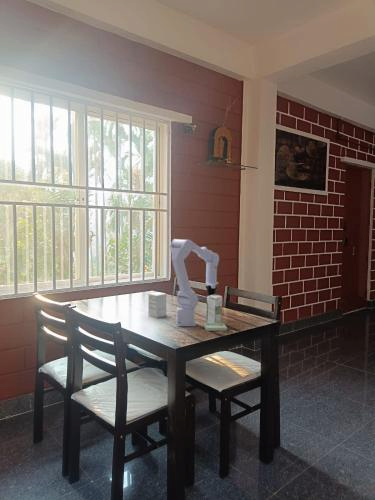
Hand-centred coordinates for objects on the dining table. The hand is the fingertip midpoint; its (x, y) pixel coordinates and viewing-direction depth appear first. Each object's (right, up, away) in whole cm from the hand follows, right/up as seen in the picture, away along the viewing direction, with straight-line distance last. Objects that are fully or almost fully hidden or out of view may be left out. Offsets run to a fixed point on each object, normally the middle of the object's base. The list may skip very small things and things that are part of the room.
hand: (210, 299), depth 200 cm
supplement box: (-30, -10, +3) cm, 31 cm away
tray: (+1, -12, -19) cm, 22 cm away
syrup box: (+1, -11, -10) cm, 15 cm away
